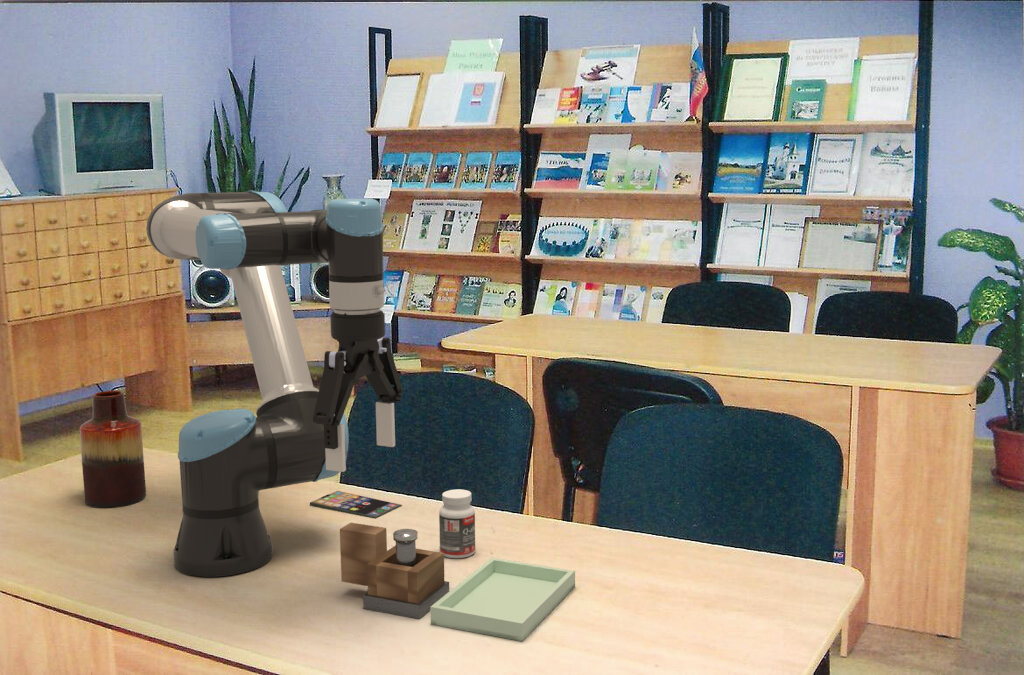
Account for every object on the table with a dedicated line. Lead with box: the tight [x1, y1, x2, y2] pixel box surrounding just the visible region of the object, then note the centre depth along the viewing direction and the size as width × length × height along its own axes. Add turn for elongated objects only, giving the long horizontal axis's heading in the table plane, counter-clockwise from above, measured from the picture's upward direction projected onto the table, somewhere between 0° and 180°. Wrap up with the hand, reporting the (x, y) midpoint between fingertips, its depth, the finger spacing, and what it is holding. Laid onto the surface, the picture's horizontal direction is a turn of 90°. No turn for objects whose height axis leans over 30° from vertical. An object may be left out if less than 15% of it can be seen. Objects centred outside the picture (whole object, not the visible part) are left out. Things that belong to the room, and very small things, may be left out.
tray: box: [430, 557, 576, 642], centre depth 151 cm, size 14×20×2 cm
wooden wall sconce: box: [339, 522, 445, 603], centre depth 152 cm, size 14×8×8 cm, turn 66°
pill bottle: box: [438, 488, 476, 559], centre depth 170 cm, size 6×6×10 cm
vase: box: [79, 390, 147, 509], centre depth 198 cm, size 11×11×20 cm
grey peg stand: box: [362, 528, 450, 620], centre depth 151 cm, size 9×9×10 cm
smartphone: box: [309, 490, 403, 519], centre depth 195 cm, size 8×15×1 cm, turn 60°
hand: (362, 457), depth 152 cm, fingers open, 13 cm apart
